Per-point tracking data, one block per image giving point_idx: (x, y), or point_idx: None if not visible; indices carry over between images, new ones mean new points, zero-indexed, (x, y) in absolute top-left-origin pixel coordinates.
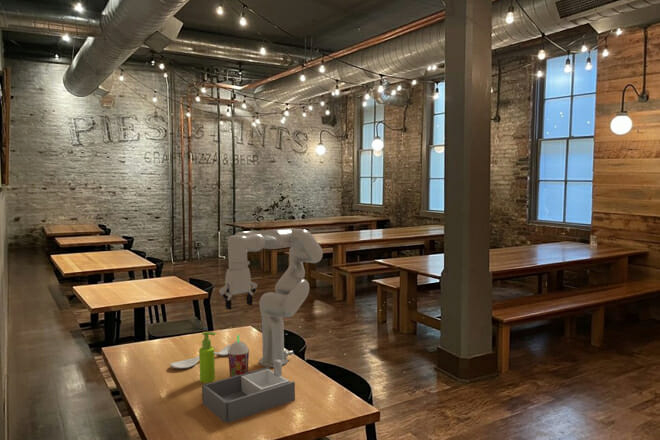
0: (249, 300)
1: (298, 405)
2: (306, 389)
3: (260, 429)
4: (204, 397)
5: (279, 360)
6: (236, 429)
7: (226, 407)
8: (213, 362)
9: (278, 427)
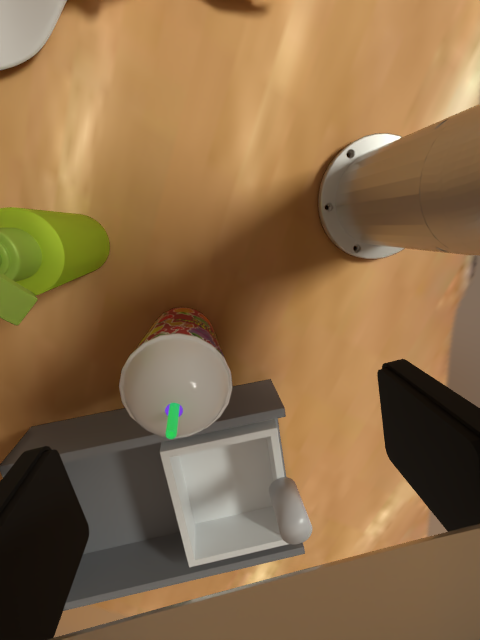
0: (423, 478)
1: None
2: (350, 460)
3: (151, 603)
4: None
5: (305, 530)
6: None
7: None
8: (79, 273)
9: None
